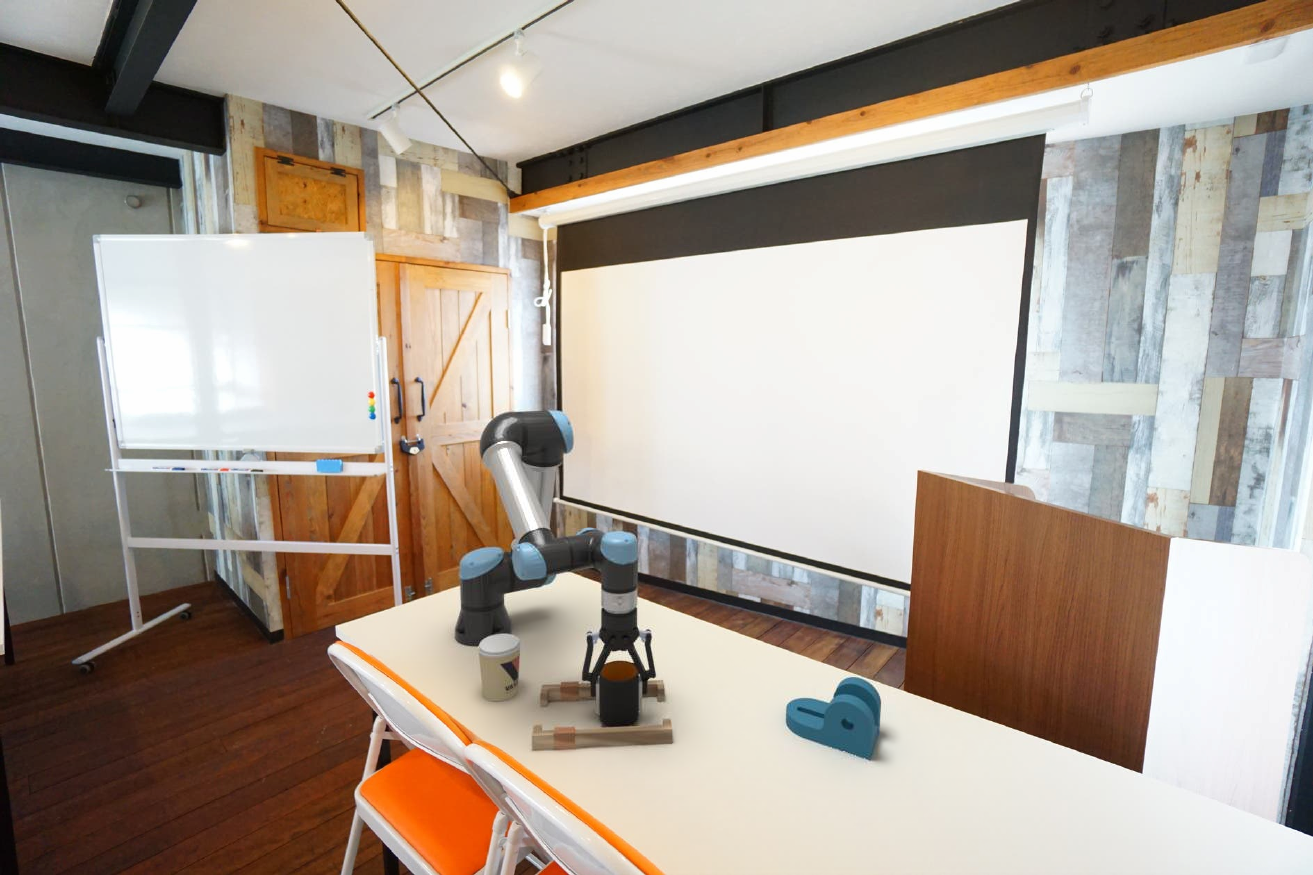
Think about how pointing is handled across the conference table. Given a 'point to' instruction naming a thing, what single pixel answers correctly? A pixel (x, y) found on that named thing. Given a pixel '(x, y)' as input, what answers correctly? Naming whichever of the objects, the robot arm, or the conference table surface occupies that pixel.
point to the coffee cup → (499, 666)
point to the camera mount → (840, 718)
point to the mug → (619, 694)
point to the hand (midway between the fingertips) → (618, 708)
